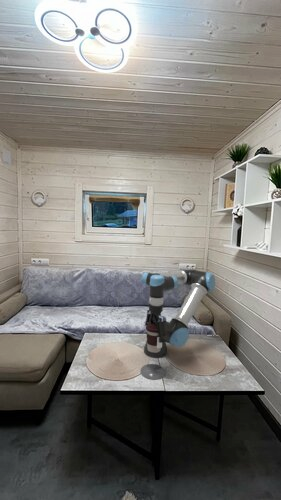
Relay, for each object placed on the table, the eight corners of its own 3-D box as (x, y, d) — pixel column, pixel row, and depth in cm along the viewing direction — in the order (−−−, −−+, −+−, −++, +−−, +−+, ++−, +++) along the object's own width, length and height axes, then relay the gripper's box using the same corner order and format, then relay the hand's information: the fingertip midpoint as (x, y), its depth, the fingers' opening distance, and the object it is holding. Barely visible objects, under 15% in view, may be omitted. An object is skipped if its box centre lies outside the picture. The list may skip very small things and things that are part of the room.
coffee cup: (155, 356, 131) (156, 328, 129) (141, 349, 137) (142, 323, 136) (166, 349, 138) (167, 323, 137) (152, 343, 145) (153, 318, 143)
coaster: (136, 368, 142) (136, 367, 142) (156, 362, 149) (156, 361, 149) (148, 382, 130) (148, 381, 130) (170, 375, 136) (170, 374, 136)
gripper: (139, 298, 143) (138, 336, 145) (161, 311, 123) (159, 354, 126) (151, 297, 146) (149, 333, 149) (174, 309, 127) (171, 351, 129)
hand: (154, 343), depth 137 cm, fingers closed on coffee cup, 10 cm apart
